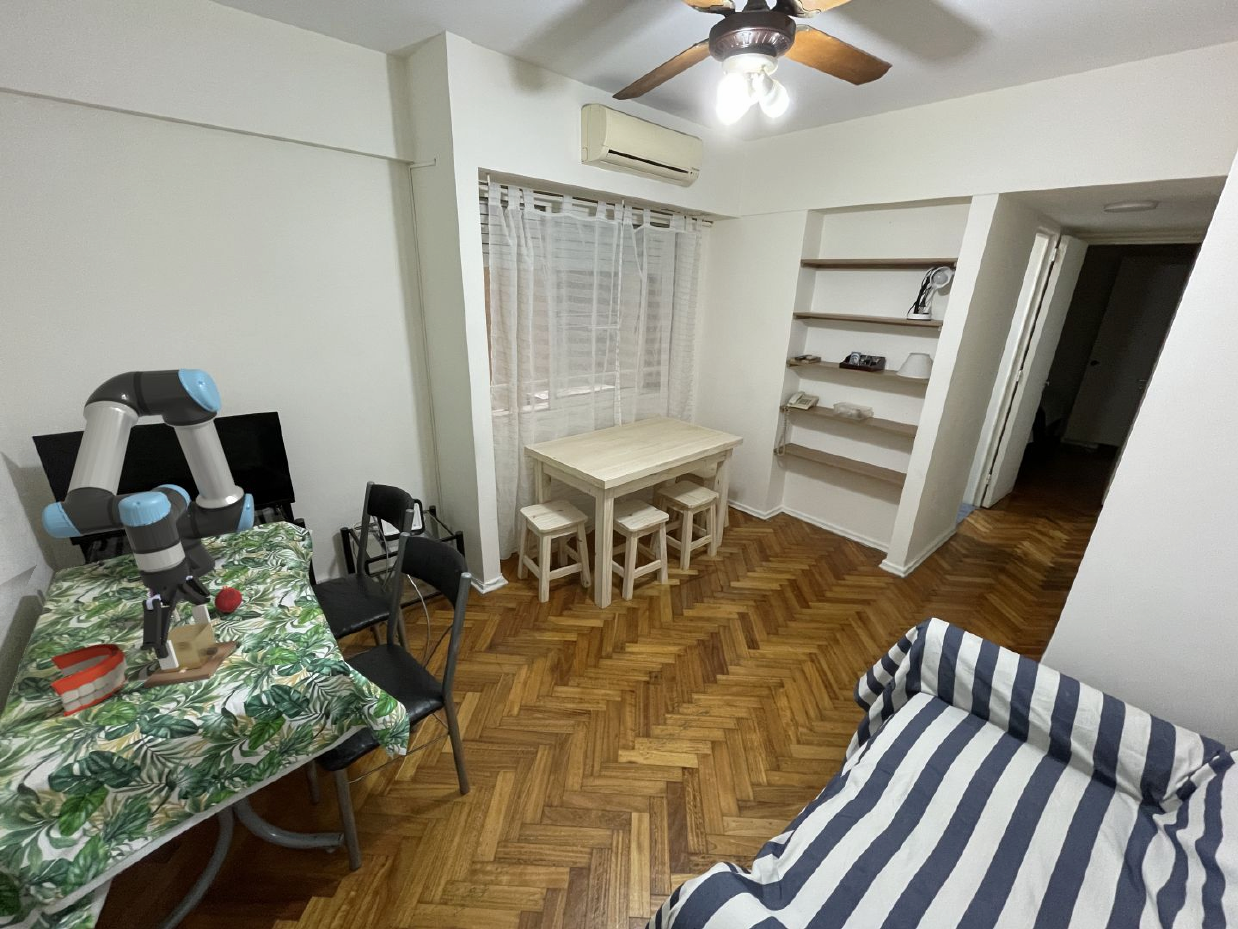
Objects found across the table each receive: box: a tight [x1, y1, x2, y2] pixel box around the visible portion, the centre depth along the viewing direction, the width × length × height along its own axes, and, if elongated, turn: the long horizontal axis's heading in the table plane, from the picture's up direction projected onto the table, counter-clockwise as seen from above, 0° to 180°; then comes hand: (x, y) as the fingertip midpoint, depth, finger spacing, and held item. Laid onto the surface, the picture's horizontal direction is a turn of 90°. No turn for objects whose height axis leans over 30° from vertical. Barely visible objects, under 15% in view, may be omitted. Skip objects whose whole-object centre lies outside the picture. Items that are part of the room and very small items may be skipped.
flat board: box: [143, 640, 237, 689], centre depth 112 cm, size 12×12×6 cm
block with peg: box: [164, 621, 218, 673], centre depth 111 cm, size 10×7×7 cm
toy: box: [50, 643, 128, 717], centre depth 104 cm, size 12×10×8 cm
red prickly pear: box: [214, 584, 243, 613], centre depth 131 cm, size 6×6×8 cm
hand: (188, 647), depth 111 cm, fingers open, 13 cm apart
